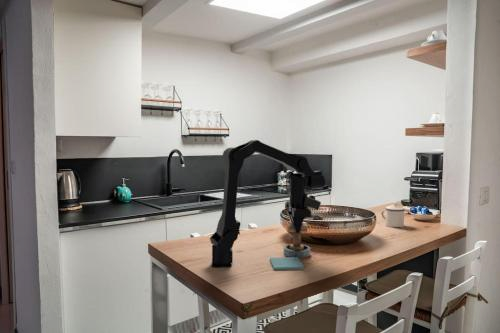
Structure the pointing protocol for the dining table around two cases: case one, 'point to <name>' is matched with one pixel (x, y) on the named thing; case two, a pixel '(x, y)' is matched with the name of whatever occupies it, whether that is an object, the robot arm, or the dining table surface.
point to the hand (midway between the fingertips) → (297, 231)
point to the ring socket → (297, 252)
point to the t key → (296, 237)
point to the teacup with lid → (394, 215)
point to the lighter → (316, 217)
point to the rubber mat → (286, 263)
